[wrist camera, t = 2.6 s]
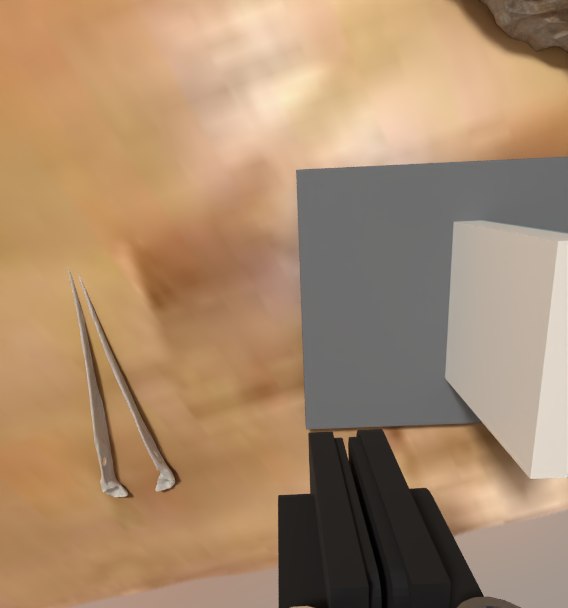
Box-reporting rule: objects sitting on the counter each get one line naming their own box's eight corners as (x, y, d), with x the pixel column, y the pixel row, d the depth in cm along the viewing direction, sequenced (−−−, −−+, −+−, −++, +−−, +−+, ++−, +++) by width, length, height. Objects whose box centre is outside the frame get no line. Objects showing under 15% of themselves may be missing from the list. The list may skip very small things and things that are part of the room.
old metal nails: (182, 479, 28) (173, 499, 26) (113, 490, 28) (99, 510, 26) (111, 214, 25) (95, 213, 23) (35, 229, 25) (13, 230, 23)
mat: (719, 149, 22) (731, 148, 22) (666, 410, 26) (675, 415, 25) (296, 170, 23) (296, 169, 22) (305, 424, 26) (306, 429, 26)
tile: (483, 220, 23) (607, 239, 14) (472, 377, 25) (572, 477, 16) (453, 221, 23) (558, 241, 14) (445, 378, 25) (530, 478, 16)
